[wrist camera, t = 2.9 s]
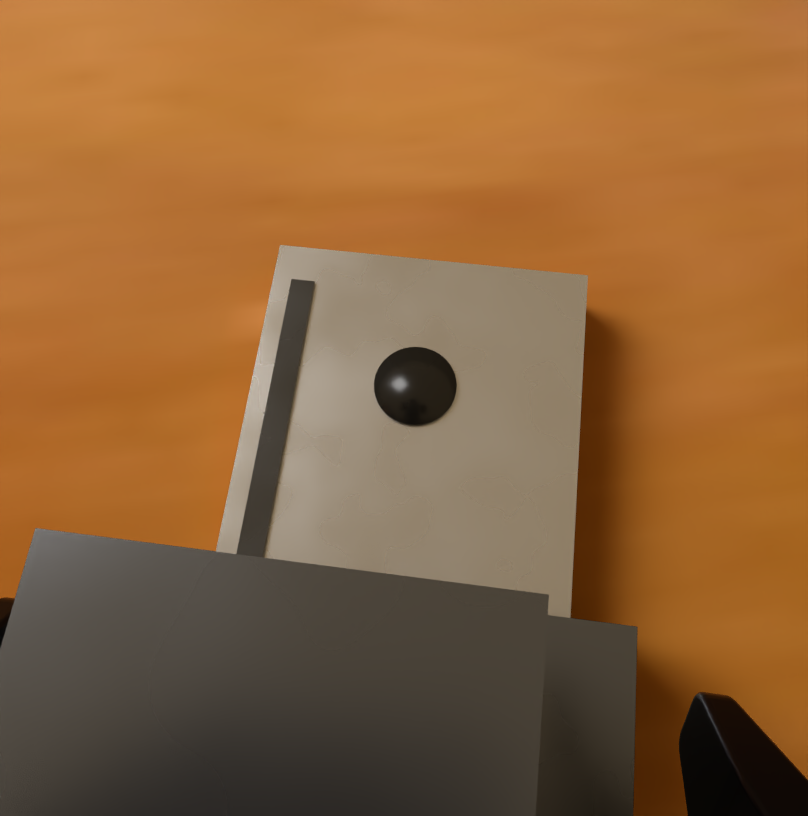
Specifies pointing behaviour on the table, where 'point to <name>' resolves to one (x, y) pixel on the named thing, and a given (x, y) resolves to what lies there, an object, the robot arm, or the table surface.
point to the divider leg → (301, 691)
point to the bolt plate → (414, 422)
